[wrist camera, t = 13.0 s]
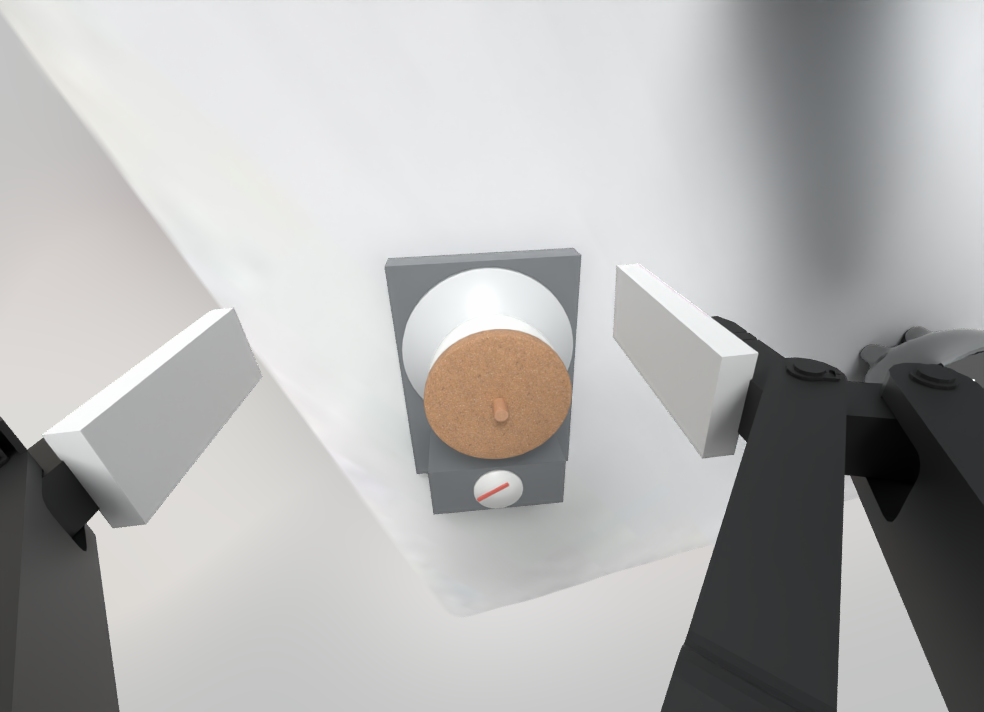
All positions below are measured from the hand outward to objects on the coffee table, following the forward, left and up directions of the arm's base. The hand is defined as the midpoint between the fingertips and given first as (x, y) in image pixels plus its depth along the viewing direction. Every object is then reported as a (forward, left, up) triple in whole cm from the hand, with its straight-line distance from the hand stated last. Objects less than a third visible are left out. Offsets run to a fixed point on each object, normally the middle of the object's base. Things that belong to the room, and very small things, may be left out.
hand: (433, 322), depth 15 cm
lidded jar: (-3, +11, -19) cm, 23 cm away
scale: (-3, +14, -23) cm, 27 cm away
